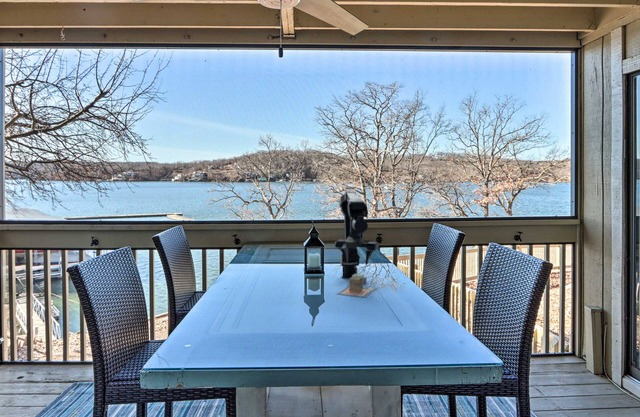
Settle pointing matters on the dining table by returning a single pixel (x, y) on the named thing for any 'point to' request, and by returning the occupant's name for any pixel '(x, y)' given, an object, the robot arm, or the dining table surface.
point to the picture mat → (363, 294)
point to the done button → (358, 275)
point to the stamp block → (355, 284)
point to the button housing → (364, 280)
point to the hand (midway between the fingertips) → (356, 263)
